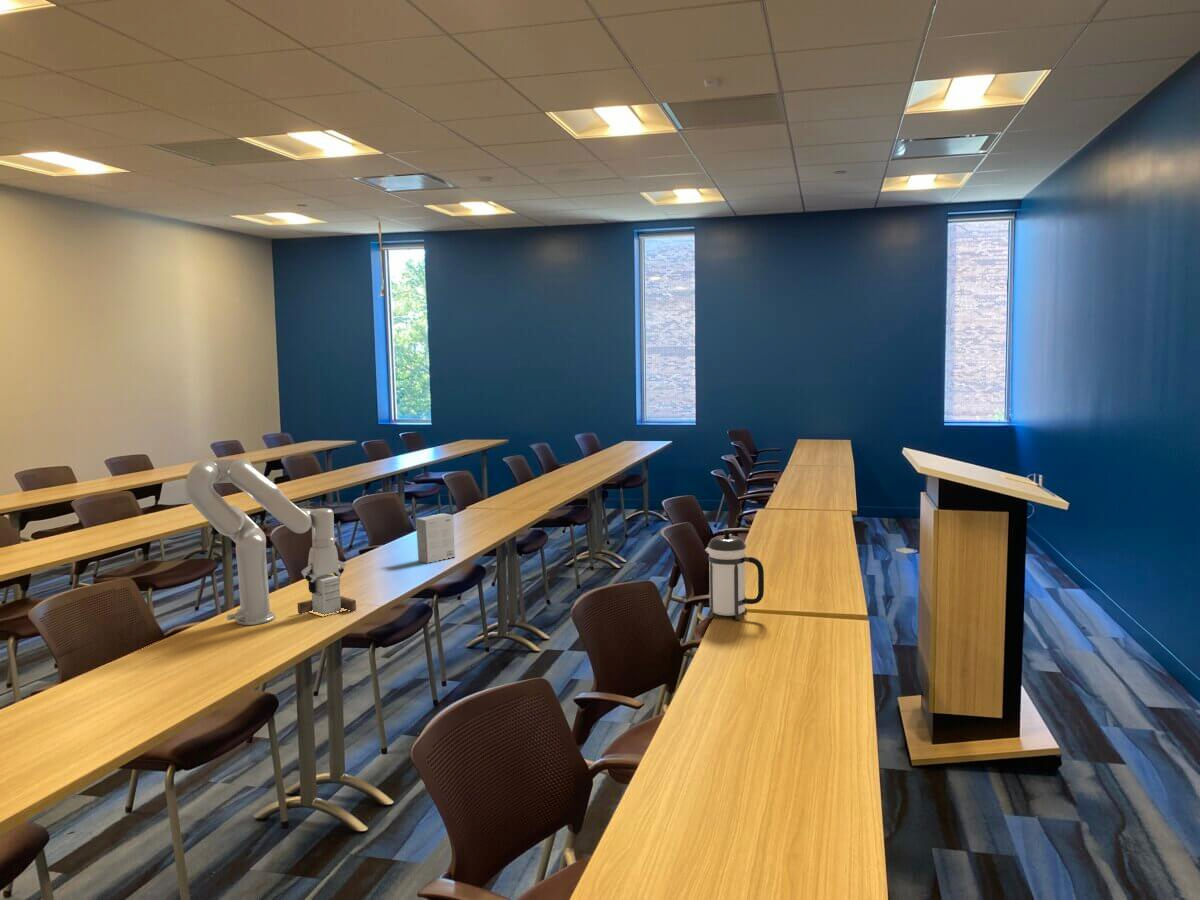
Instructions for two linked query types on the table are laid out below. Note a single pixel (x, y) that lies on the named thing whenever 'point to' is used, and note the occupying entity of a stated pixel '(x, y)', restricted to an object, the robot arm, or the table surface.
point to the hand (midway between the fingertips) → (324, 589)
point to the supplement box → (326, 594)
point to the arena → (345, 604)
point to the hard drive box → (435, 537)
